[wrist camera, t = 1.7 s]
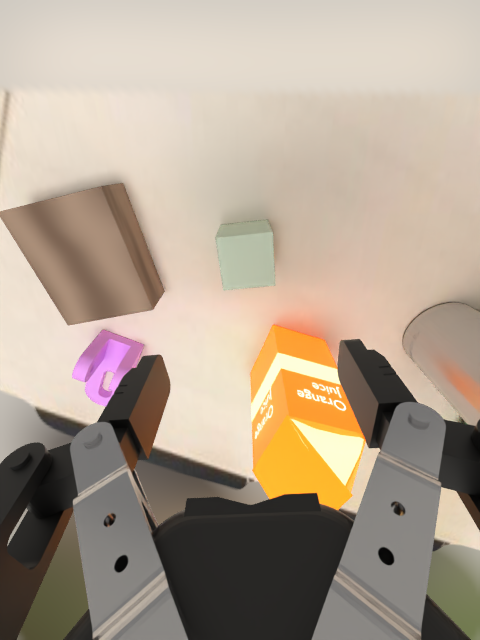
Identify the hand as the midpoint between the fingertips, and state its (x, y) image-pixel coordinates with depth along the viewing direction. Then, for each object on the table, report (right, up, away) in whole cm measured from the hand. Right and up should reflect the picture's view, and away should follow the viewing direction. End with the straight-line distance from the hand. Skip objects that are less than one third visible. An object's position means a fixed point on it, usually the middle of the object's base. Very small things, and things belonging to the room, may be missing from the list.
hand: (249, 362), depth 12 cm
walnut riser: (-16, +10, +18) cm, 26 cm away
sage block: (0, +10, +17) cm, 20 cm away
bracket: (-19, -5, +27) cm, 33 cm away
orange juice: (+6, -3, +25) cm, 26 cm away
